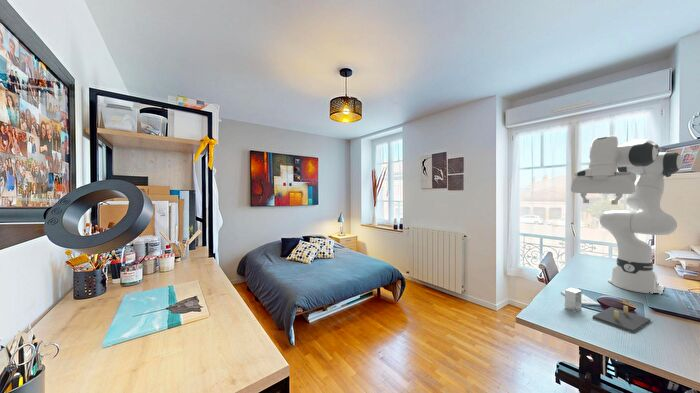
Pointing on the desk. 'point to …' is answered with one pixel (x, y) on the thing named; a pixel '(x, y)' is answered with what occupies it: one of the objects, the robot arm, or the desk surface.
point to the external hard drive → (585, 300)
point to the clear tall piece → (573, 299)
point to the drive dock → (622, 319)
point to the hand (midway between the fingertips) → (599, 203)
